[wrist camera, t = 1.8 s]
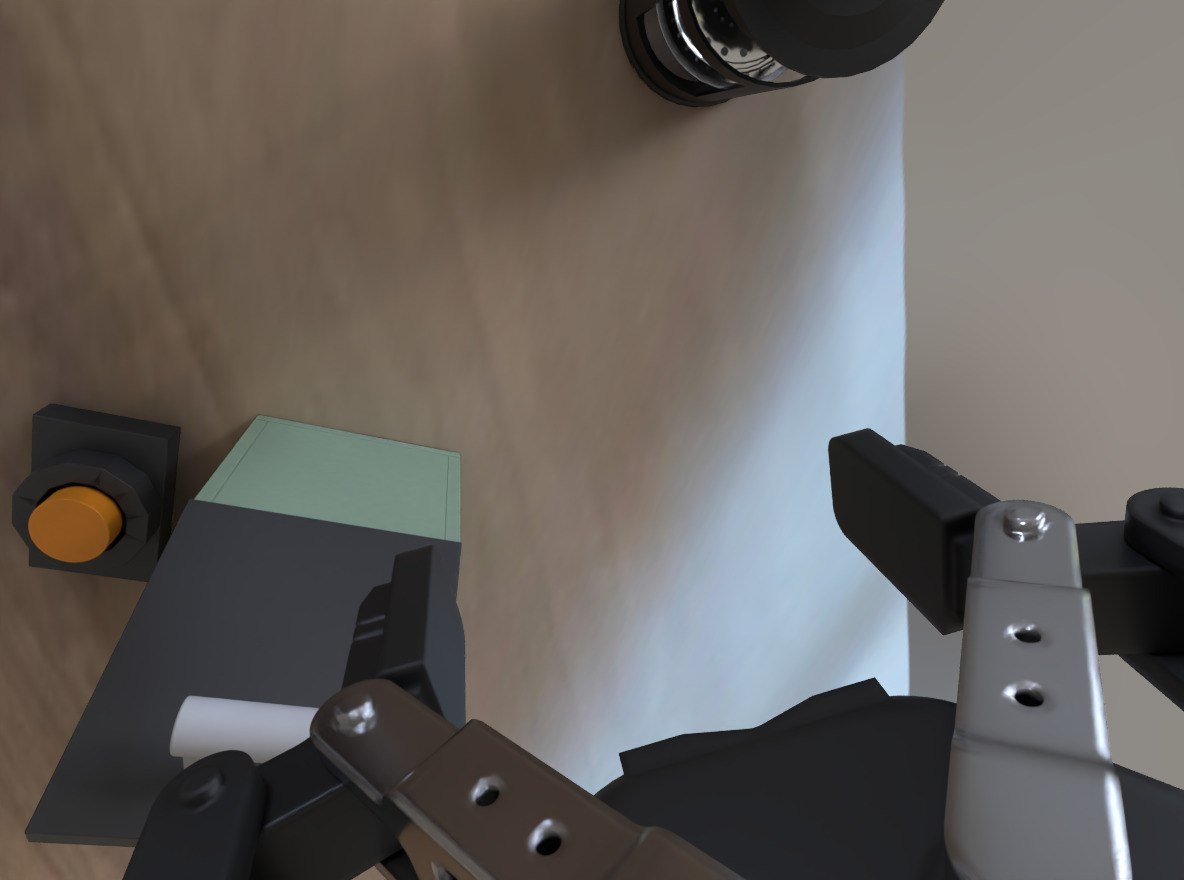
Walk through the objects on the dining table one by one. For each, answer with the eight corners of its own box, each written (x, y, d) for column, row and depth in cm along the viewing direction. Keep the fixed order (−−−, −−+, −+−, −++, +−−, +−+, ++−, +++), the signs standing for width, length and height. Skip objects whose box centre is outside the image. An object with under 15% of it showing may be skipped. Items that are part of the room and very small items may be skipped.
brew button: (120, 552, 43) (107, 567, 41) (43, 541, 42) (26, 557, 40) (125, 492, 41) (111, 506, 40) (45, 479, 40) (28, 493, 39)
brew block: (167, 566, 47) (142, 601, 44) (45, 549, 46) (9, 584, 42) (181, 427, 44) (155, 452, 40) (50, 402, 42) (12, 427, 39)
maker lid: (428, 862, 26) (455, 804, 23) (27, 842, 23) (-3, 772, 20) (458, 552, 37) (479, 484, 34) (189, 509, 34) (186, 431, 31)
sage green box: (420, 623, 52) (409, 747, 41) (232, 598, 49) (168, 726, 38) (460, 453, 48) (460, 542, 37) (257, 413, 45) (192, 499, 34)
